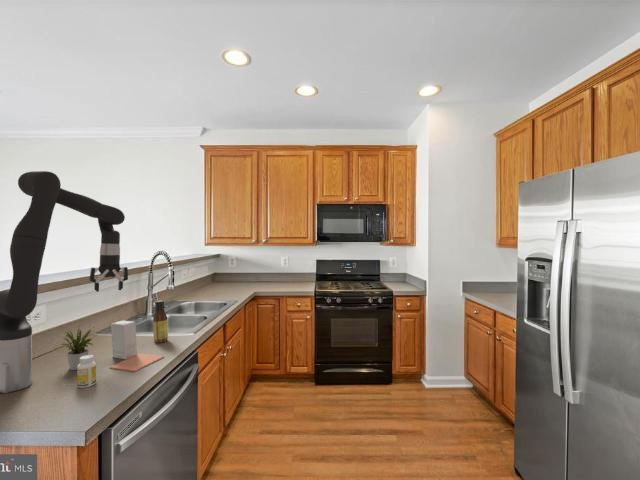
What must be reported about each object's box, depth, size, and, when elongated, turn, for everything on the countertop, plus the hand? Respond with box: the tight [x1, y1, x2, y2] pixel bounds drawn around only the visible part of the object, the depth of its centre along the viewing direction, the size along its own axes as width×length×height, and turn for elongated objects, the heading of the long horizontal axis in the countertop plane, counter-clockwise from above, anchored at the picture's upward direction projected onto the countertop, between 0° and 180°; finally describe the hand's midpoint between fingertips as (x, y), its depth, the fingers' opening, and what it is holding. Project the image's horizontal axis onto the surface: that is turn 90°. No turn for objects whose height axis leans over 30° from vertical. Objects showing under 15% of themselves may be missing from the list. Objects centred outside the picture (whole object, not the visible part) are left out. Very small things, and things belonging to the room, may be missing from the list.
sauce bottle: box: [152, 299, 169, 344], centre depth 168 cm, size 7×6×20 cm
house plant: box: [52, 325, 95, 371], centre depth 133 cm, size 14×14×16 cm
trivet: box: [109, 352, 165, 373], centre depth 140 cm, size 16×12×1 cm
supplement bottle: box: [76, 354, 97, 389], centre depth 119 cm, size 5×5×10 cm
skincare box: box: [110, 319, 138, 360], centre depth 146 cm, size 8×6×15 cm
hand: (108, 290), depth 151 cm, fingers open, 8 cm apart
